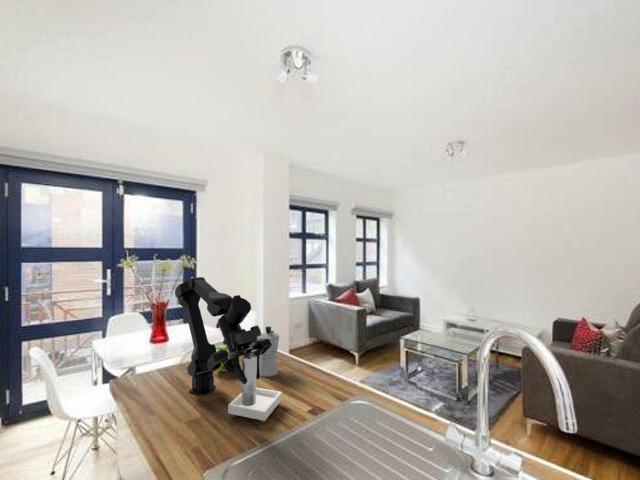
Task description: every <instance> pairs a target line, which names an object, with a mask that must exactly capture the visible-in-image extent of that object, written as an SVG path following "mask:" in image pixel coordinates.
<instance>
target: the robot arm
mask: <svg viewBox="0 0 640 480" xmlns="http://www.w3.org/2000/svg"><path fill="white" fill-rule="evenodd" d="M174 294H175V296H174V297H175V298H176V299H177V302H178V304H179V305H180V306H181V307H182V308H183V309H184V310H185V314H186V318H187V324H188V328H189V332H190V335H191V340H192V345H193V350H192V353H191V356H190V358H191V360H190V362H189V364H188V366H187V375H189V376H190V377H191V388H190V389H189V390H188V393H191V394H196V395H201V396H206V395H208V393H209V392H211V391H213V390H214V388H216V384H215V382H214V381H215V376H214V372H216V371H218V369H219V368H220V366H221V363H222V362H223V365H224V367H223V368H222V369H223V370H227V373H228V372H229V373H230V374H231V375H232V376H234V377H235V378H236V379H237V380H238V381H239V382H241V384H242V383H243V384H246V383H247V382H246V378H245V376H244V373H243V371H242V365H241V364H240V358H241V357H243V356H245V355H248V354H254V355H256V356H257V380H260V378H261V376H260V370H259V356H260V355H263V354H264V353H266V351H267V350H268V349H269V348H270V347H271V346H272V343H271V341H270V340H269V339H267V338H266V339H262V340H258V339H257V337H258V336H261V334H262V332H261V328H260V327H259V325H253V326H251V327H250V329H249V330H246V329H245V328H242V326H241V323H242V322H244V321H245V319H246V317H247V316H248V315H249V313H250V312H251V310H252V305H251V302H250V301H248V300H247V299H246V298H242V297H241V295H240V294H239V295H237V294H236V295H233V296H231V295H229V294H228V293H223V292H219V291H218V290H216V289H215V288H214V287H213V286H212V285H211V284H209V282H208V281H206V279H205V277H203V276H199V277H198V276H197V277H191V278H189V279H188V280H186V281H184V282H182V283H180V284H179V285H178V286H176V288H175V290H174ZM201 299H202V300H203V301H204V302H205V303H206V304H207V306H206V309H207V311H208V313H209V314H210V315H211V316H212V317H214V318H215V317H219V316H221V317H219V318H218V319H217V322H216V325H215V327H216V329H219V330H220V333H221V335H222V337H223V341H222V344H223V346H227V348H228V350H229V353H228V352H227V351H226V350H223V351H219V352H217V351H218V350H216V348H217V347H216V345H215V344H213V343H212V344H211V343H210V342H209V340H208V336H207V333H206V332H207V331H206V328H205V324H204V321H203V317H202V313H201V308H200V305H199V303H200V301H201ZM253 340H254V341H255V340H258V341H257V342H256V343H255V345H254V346H252V347H249V345H251V344H252V341H253Z"/></svg>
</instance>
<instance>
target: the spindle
mask: <svg viewBox="0 0 640 480" xmlns="http://www.w3.org/2000/svg"><path fill="white" fill-rule="evenodd" d="M241 359H242V365H241V369H242V371H243V373H244V376H245V378H246V382H247V383H246V384H243V383H242V382H241V393H242V404H243V405H244V406H252V405H254V404H255V403H256V389H257V388H258V387H257V380H258V379H257V356H256V355H254V354H248V355H245V356H242V358H241Z"/></svg>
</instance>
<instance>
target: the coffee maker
mask: <svg viewBox="0 0 640 480" xmlns="http://www.w3.org/2000/svg"><path fill="white" fill-rule="evenodd" d="M264 329H265V332H263V333H262V332H261V336H258V337H257V339H258V340H262V339H266V338H267V339H269V340H270V341H271V343H272V346H271V347H270V348H269V349H268V350H267V351H266V353H264V354H263V355H260V357H259V370H260V378H262V377H263V378H265V377H267V378H270V377H273V376H277V375H278V374H279V366H278V358H277V353H278V348H279V341H280V335H279V334H278V333H276V332H275V330H272V327H271V326H265V328H264Z"/></svg>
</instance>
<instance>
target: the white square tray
mask: <svg viewBox="0 0 640 480" xmlns="http://www.w3.org/2000/svg"><path fill="white" fill-rule="evenodd" d="M282 400H283V391H279V390H272V389H268V388H261V387H257V389H256V403H255V404H254V405H252V406H244V405H243V404H242V392H241V393H239V394H238V395H237V396H236V397H235V398H234V399H233V400H232V401H231V402H230V403H229V404H228V405H227V406H228V407H227V414H230V416H231V418H236V417H237V416H239V417H245V418H248V419H255V420H258V421H259V422H260V424H265V423H266V421H267V419H268V418H269V416H270V415H271V414H272V412H274V410H275V409H276V407H279V405H280V403H281V402H282Z"/></svg>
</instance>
